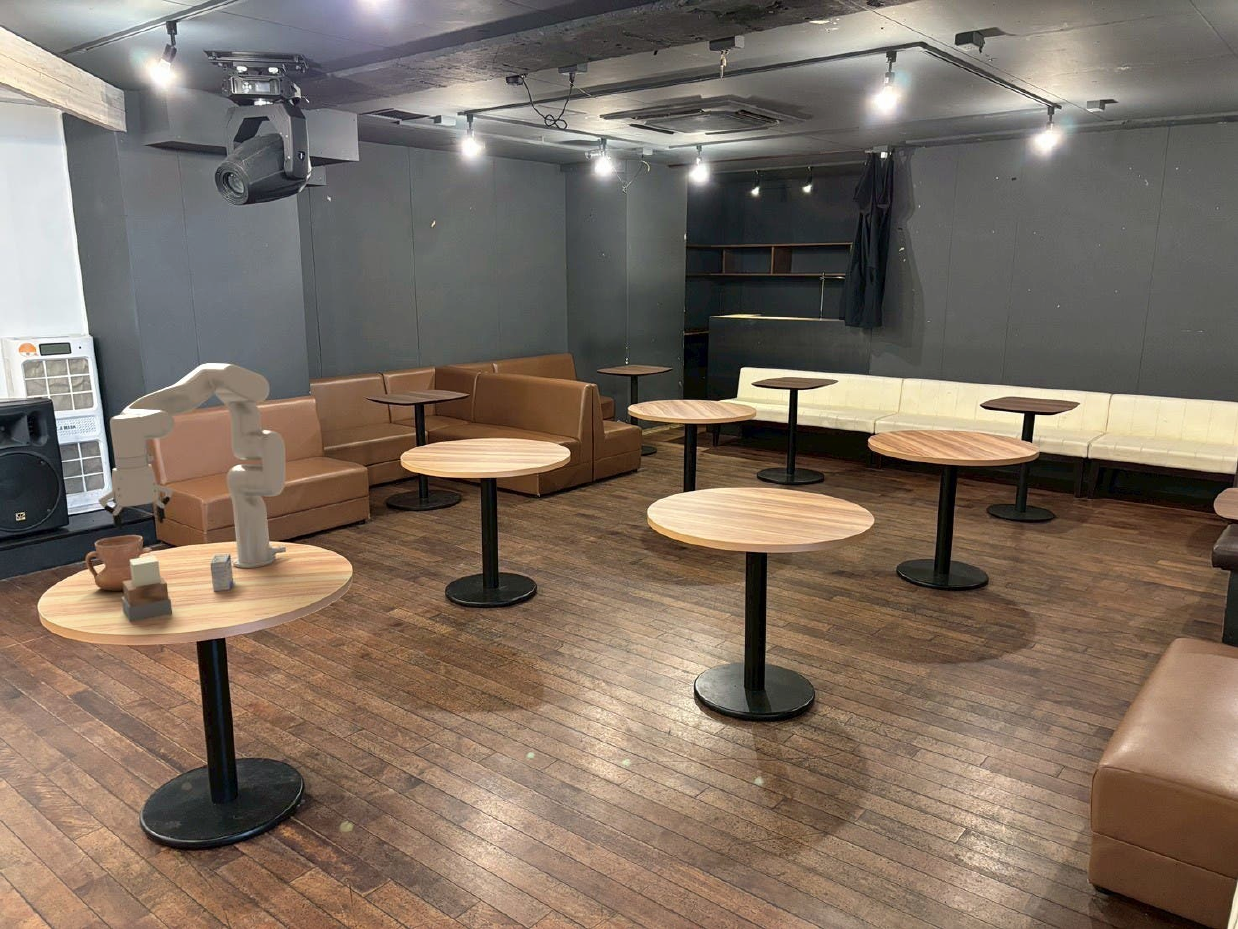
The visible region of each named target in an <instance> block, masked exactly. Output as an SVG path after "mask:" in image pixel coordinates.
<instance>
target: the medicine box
mask: <svg viewBox="0 0 1238 929" xmlns="http://www.w3.org/2000/svg"><path fill="white" fill-rule="evenodd" d="M209 565H210V572H211V575H210V576H211V581H212V588H213V592H223V591H230V589H231V588H232V584H233V582H234V577H233V567H232V557H231V554H230V553H229V554H218V555H214V557H213V559H212V561H211V562H210V564H209Z"/></svg>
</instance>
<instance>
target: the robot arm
mask: <svg viewBox="0 0 1238 929" xmlns="http://www.w3.org/2000/svg"><path fill="white" fill-rule="evenodd" d="M269 394H270V384H269V382H268V380H267V379H266V377H264V376H263V375H262V374H259V373H257V372H255V371H252V370H250V369H247V368H244V367H242V366H238V365H236V364H233V363H203V364H201V365H198V366H197V367H196V368H194V369H193V370H192V371H190V372H189V373H187V374H186V375H185V376H184V377H182V378H181V379H179V381H177V382H175V383H174V384H173V385H170V386H168V387H165V388H162V389H160V390H156V391H154V392H152V393H149V394H147V395H144V396H142V397H140V398H138V399H137V400H135V401H133V402H132V403H131V404H129V405H128V406H126V407H125V408H124V409H123V410H122V411H121V412H120V413H119V415H118V414H117V415H115V416H113V417H111V418H110V421H109V425H110V426H109V427H110V435H111V441H112V447H113V455H114V463H115V467H114V468H112V471H111V472H112V473H111V484H112V486H111V487H112V491H110V492H109V493H108V494H106V495H104V496H102V497H101V498H99V499H98V503H99V504H100V505H101V507H102V508H103V509H104V510H105V511H106V512H108V513H110V514H111V515H112V517H113V525H114V527H115V528H117V529H118V530H119V531H121V530H123V525H122V517H121V516H122V515H121V514H120V512H121V511H122V509H123V508H127V507H134V506H140V505H141V506H142V505H147V504H148V505H149V504H153V503H154V504H155V505H156V508H155V509H156V517H157V522H159V523H160V524H163V523H164V520H165V519H166V515H165V507H166V505H167V504H168V503H169V502H170V501H171V497H172V496H173V493H174V490H173V489H172V488H169V487H165V486H162V485H159V484H158V482H157V479H156V475H155V471H154V468H153V466H152V464H151V463H150V462H152V461H155V456H154V454H153V455H152V454H151V455H150V454H148V449H147V440H155V439H164V438H165V437H168V436H169V435H171V433H172V432H173V431H174V429H175V420H174V418H173V416H175V415H182V414H184V413H188V412H192V411H194V410H196V409H197V408H198V407H200V406H201V405H202V404H203V403H204V402H206V401H207V400H208V399H209V398H210V397H212V396H214V395H215V396H216V397H217V398H218V399H219V400H220V401H221V402H222V404H224V405H225V407H226V409H228V412H229V414H230V426H231V427H230V428H231V430H230V431H231V432H230V433H231V451H232V454H233V456H234V457H235V458H236V459H238V460H242V461H255V462H261V465H260V464H243V463H242V464H238V465H235V466H232V468H230V469H229V470H228V472H227V475H226V484H227V485H226V486H227V489H228V492H229V494H230V498H231V503H232V510H233V512H232V513H233V522H234V530H235V532H234V533H235V541H236V542H235V543H236V551H237V553H236V554H237V557H236V558H234V559H233V561H232V564H233V566H234V567H236V568H241V569H252V568H258V567H264V566H268V565H271V564H273V563H274V562H276V559H277V557H276V555H277V554H281V553H285V552H286V551H287V550H286V546H285V545H283V546H279V545H276V546H271V545H270V537H269V535H270V534H269V526H268V513H267V507H266V506H267V505H266V503H265V501H264V499H263V497H276V496H279V495H280V494H282V492H284V488H285V485H286V445H285V441H284V439H283V437H282V435H281V434H280V433H279V432H277V431H273V430H265V429H263V430H262V420H261V419H262V418H261V412H260V409H259V407H258V405H257V403H262V402H264V401H265V400H266V399H267V398H268V397H269ZM160 492H162V493H165V495H164V497H163V498H162V499H161V500H160V494H159V493H160ZM112 499H113V501H114V506H112V507H111V506H110V505H109V504H108V501H110V500H112Z"/></svg>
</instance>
